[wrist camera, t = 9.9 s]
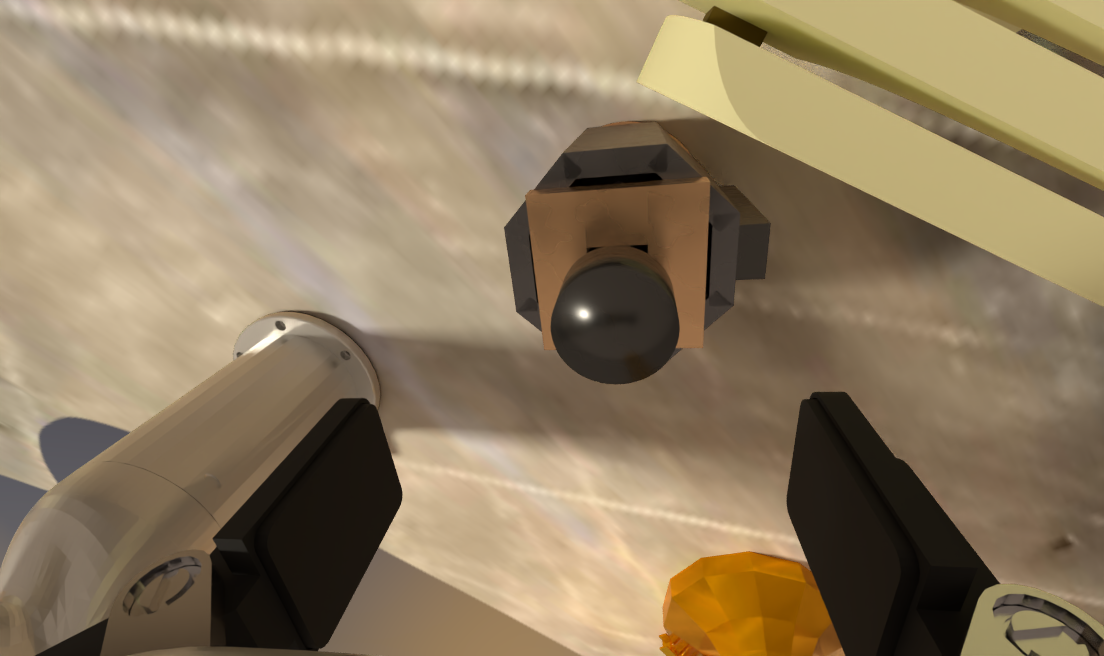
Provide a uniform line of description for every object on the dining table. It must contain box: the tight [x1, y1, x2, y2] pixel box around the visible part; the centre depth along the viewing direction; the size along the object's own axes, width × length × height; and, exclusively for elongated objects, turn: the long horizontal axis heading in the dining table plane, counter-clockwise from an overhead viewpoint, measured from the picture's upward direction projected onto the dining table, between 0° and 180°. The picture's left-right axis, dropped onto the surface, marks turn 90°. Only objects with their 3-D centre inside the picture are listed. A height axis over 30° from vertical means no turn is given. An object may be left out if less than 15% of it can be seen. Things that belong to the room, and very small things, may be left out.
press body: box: [504, 121, 771, 359], centre depth 25 cm, size 10×11×13 cm
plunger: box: [551, 173, 680, 384], centre depth 22 cm, size 6×6×15 cm
